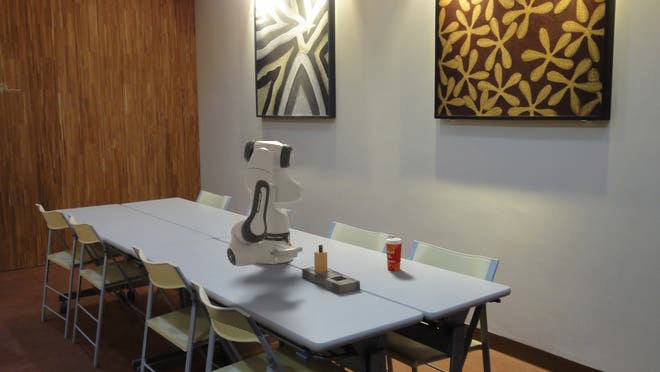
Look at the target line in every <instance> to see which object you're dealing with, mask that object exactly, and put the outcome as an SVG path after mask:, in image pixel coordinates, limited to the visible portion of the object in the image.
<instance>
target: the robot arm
mask: <svg viewBox="0 0 660 372" xmlns="http://www.w3.org/2000/svg"><path fill="white" fill-rule="evenodd" d="M294 157H295V152H294V148H293V147H292V146H291V145H289V144H286V143H284V144H283V143H281V142H280V141H275V140H273V141H267V140H256V139H255V140H254V139H253V140H249V141H248V142H247V143H246V144H245V145H244V148H243V158H244V160H245V161H246V163H247V167H246V170H245V175H244V182H243V183H244V187H245V188H246V189H247V191H248V192H249V196H250V199H251V206H250V212H249V215H248V216H247V217H246V218H245V219H244V220H241V221H239V222H238V221H237V222H236V223H235V224H234V225H233V226H232V228H231V234H230V235H231V237H230V238H231V239H230V244H229V246H228V248H227V250H226V256H227V258H228V261H229V262H230V264H232V265H233V266H235V267H245V266H247V267H248V266H253V265H255V264H266V265H277V264H283V263H284V264H285V263H288V262H292V261H293V260H294V258H297V257H298V254H299V253H300V252H303V247H302V246H297V247H293V246H292V243H291V231H290V220H289V219H290V218H289V215H288V214H287V212H285V211H283V210H282V209H279V208H277V206H276V205H278V204H280V205H281V204H283V205H284V204H293V203H299V202H300V201H301V200H302V198H303V197H304V187H303V185H302V184H301V183H300V182H299V181H297V180H295V179H293V178H292V177H291V176H290V174H289V172H288V171H289V170H288V168H290V167H291V165H292V164H293V161H294Z"/></svg>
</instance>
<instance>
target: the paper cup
mask: <svg viewBox="0 0 660 372" xmlns="http://www.w3.org/2000/svg"><path fill="white" fill-rule="evenodd" d="M402 244H403V241H402V239H401V238H398V237H389V238H386V239H385V246H386V247H385V248H386V259H387V260H386V262H387V264H386V265H387V271H391V272H398V271H400V270H401V258H402Z"/></svg>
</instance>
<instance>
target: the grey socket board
mask: <svg viewBox="0 0 660 372" xmlns="http://www.w3.org/2000/svg"><path fill="white" fill-rule="evenodd" d="M301 273H302V274H301V275H302V276H301V277H303V278H304V279H307V280H308V281H311V282H313V283H316V284H318V285H319V286H322V287H324V288H326V289H328V290H330V291H333V292H335V293H337V294H339V295H341V294H345V293H350V292H355V291H359V290H361V280H358V279H356V278H353V277H350V276H349V275H346V274H344V273H341V272H339V271H336V270H333V269H332V268H328V267H327V272H324V273H317V272H315V266H310V267H305V268H301Z"/></svg>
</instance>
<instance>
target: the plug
mask: <svg viewBox="0 0 660 372" xmlns="http://www.w3.org/2000/svg"><path fill="white" fill-rule="evenodd" d="M323 246H324V245H323V244H319V245H318V250H317V251H314V256H313V257H314V267H315V272H317V273H324V272H327V268H328V252H327V251H324V249H323V248H324V247H323Z"/></svg>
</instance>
